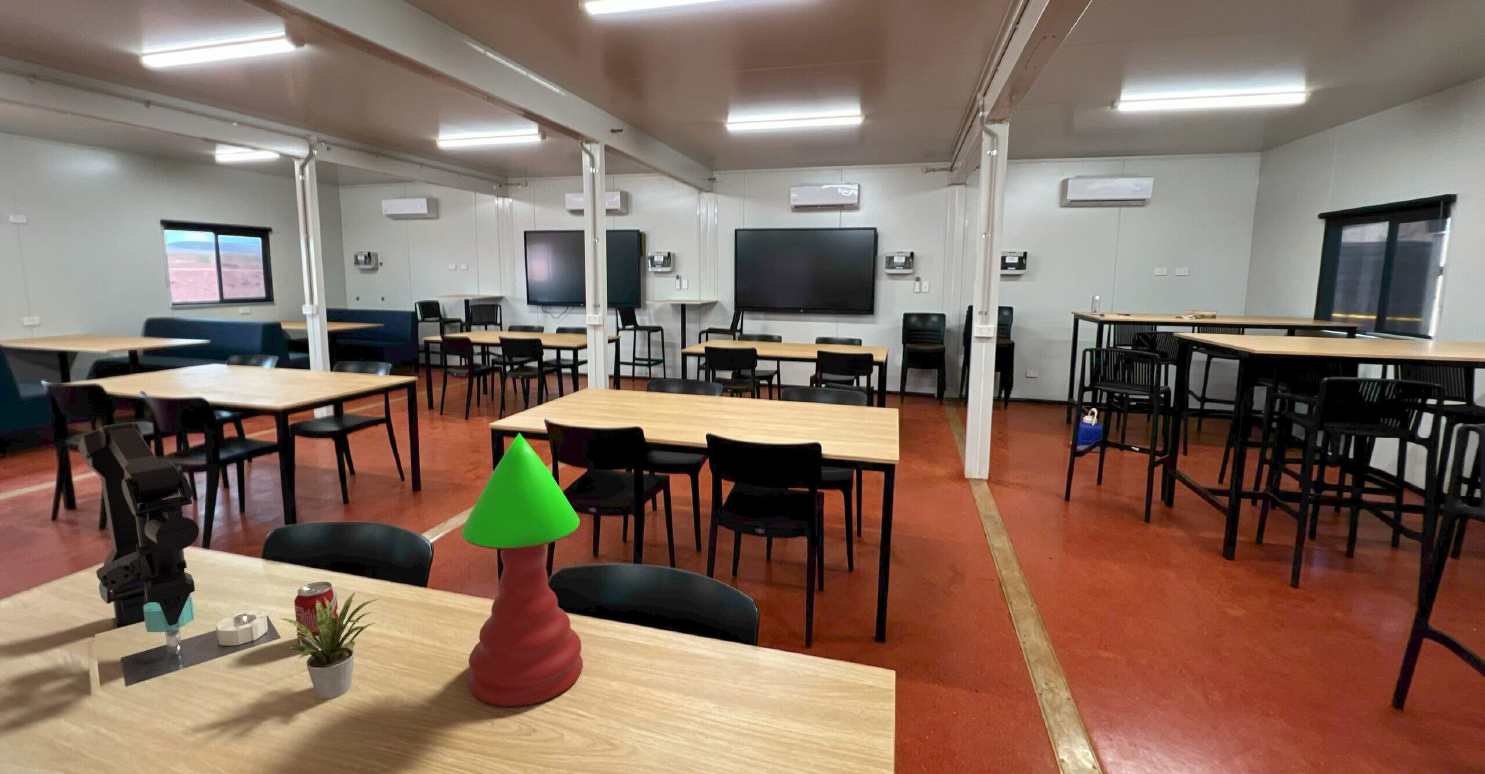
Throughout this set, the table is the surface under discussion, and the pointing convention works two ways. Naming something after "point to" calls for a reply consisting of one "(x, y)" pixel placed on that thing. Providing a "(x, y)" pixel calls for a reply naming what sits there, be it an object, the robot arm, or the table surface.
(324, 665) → the house plant
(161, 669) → the gear board
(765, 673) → the table surface
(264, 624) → the cream gear
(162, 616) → the teal blocky piece
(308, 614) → the soda can
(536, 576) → the table lamp
